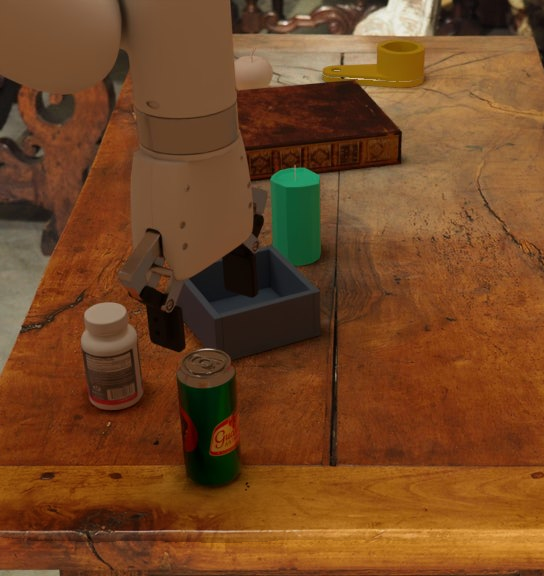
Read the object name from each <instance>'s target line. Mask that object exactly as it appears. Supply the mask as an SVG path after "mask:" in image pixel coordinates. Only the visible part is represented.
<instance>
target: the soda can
mask: <svg viewBox="0 0 544 576" xmlns="http://www.w3.org/2000/svg"><path fill="white" fill-rule="evenodd" d="M175 376H176V388H177V395H178V396H177V398H178V408H179V419H180V432H181V442H182V449H183V450H182V451H183V461H184V462H183V463H184V471H185V474H186V477H188V479H189V480H190V481H192V482H193V483H195V484H196V485H199V486H201V487H206V488H217V487H221V486H224V485H227V484H229V483H230V482H232V481H233V480H235V478H237V476H238V475H239V474H240V472H241V470H242V467H243V466H242V465H243V463H242V462H243V461H242V446H241V429H240V428H241V427H240V413H239V396H238V379H237V368H236V366H235V365H234V363H232V361H231V359H230V357H229V355H228V354H226V353H225V352H223V351H221V350H217V349H205V348H200V349H195V350H192V351H190V352H188V353H187V354H185V355H184V356H183V357H182V358H181V360H180V362H179V367H178V369H177V370H176V375H175Z"/></svg>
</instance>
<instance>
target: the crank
mask: <svg viewBox="0 0 544 576" xmlns="http://www.w3.org/2000/svg"><path fill="white" fill-rule="evenodd" d="M425 52H426V46H425V45H424V44H423V43H421V42H419V41H416V40H411V39H389V40H385V41H381V42H379V43H377V45H376V63H366V64H365V63H364V64H362V63H361V64H338V65H328V66H325V67H323V68H322V81H324V82H335V81H346V80H356V82H357V83H358V84H359V85H360V86H369V87H384V88H397V89H402V88H403V89H404V88H414V87H417V86H420V85H421V84H423V83H424V80H425V59H426V58H425V57H426V56H425V55H426V53H425ZM334 70H340V71H334ZM323 74H324V75H326V76H329V77H326V76H324V75H323ZM423 75H424V76H423ZM422 76H423V78H421V77H422ZM330 77H349V78H364V79H376V80H378V79H380V80H386V81H373V80H358V79H342V78H330ZM419 78H421V79H419ZM416 79H419V80H416ZM410 80H412V82H399V81H410ZM413 80H416V81H413ZM388 81H396V82H388Z"/></svg>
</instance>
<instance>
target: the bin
mask: <svg viewBox="0 0 544 576" xmlns="http://www.w3.org/2000/svg"><path fill="white" fill-rule="evenodd" d="M253 255H256V265H257V281H258V295H256V296H255V297H254V298H250V297H247V296H243V295H240V294H237V293H234V292H231V291H228V290H226V289H225V287H224V275H223V262H222V258H220V259H219V260H217V261H216V262H214V263H213V264H211V265H210V266H208V267H207V268H205V269H204V270H202V271H201V272H199V273H197V274H196V275H194V276H192V277H190V278H188V279H186V280H184V283H183V286H182V289H181V291H180V294H179V297H178V300H177V302H176V305H177V306H179V307H181V309H182V313H183V323H184V324H185V325H186V326H187V327H188V329H189V330H190V331H191V332H192V334H193V335H194V336H195V338H196V339H197V340H198V341H199V343H200V344H201V345H202V346H203V348H204V349H217V350H221V351H223V352H225V353H226V354H228V355H229V357H230V359H231V362H232V361H235V360H238V359H243V358H246V357H249V356H253V355H256V354H260V353H263V352H267V351H270V350H273V349H277V348H280V347H283V346H284V347H285V346H287V345H290V344H295V343H298V342H301V341H305V340H309V339H312V338H315V337H320V336H321V335H322V334H321V327H322V326H321V291H320V289H319V288H317V287H316V286H315V284H314V283H313V282H311V280H309V278H308V277H306V276H305V275H304V273H302V272H301V271H300V270H299V269H298V268H297V266H294V265H293V264H292V263H290V262H289V261H288V260H287V259H286V258H285V257H284V256H283V255H282V254H281V253H280V252H279V251H278V250H277V249H276V248H275V247H274V246H273V244H269V245H267V246H261V247H260V248H259V250H258V252H257V253H253Z"/></svg>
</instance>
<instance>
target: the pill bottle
mask: <svg viewBox="0 0 544 576" xmlns="http://www.w3.org/2000/svg"><path fill="white" fill-rule="evenodd" d="M83 320H84V327H85V329H84V331H83V333H82V334H81V336H80V350H81V353H82V360H83V367H84V374H85V380H86V388H87V393H88V399H89V401H90V403H91V404H92V405H93V406H95V408H98V409H100V410H105V411H119V410H124V409H127V408H130V407H131V406H134V405H136V404H137V403H138V402H139V401H140V400H141V399H142V397H143V395H144V382H143V381H144V380H143V375H142V374H143V373H142V365H141V358H140V348H139V347H140V346H139V339H138V333H137V330H136V329H135V327H134V326H133V325H131V324H130V323H129V317H128V311H127V309H126V307H125V306H124V305H123V304H120V303H117V302H110V301H109V302H99V303H96V304H94V305H92V306H90V307H88V308H87V309H86V310H85V311H84V314H83Z"/></svg>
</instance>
